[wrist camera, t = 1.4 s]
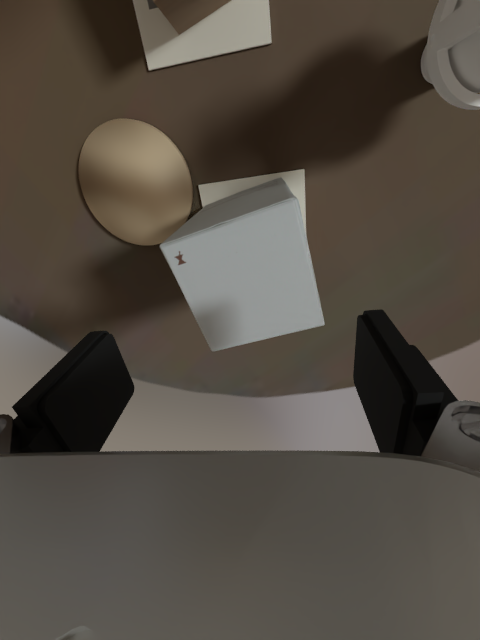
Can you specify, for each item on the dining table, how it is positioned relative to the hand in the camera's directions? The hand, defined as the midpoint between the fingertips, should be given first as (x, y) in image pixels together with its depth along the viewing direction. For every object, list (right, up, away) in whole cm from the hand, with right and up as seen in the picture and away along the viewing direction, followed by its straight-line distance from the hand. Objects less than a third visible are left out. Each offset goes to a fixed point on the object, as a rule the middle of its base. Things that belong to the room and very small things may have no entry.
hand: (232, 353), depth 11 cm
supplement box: (+2, +10, +15) cm, 18 cm away
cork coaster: (-9, +13, +14) cm, 21 cm away
